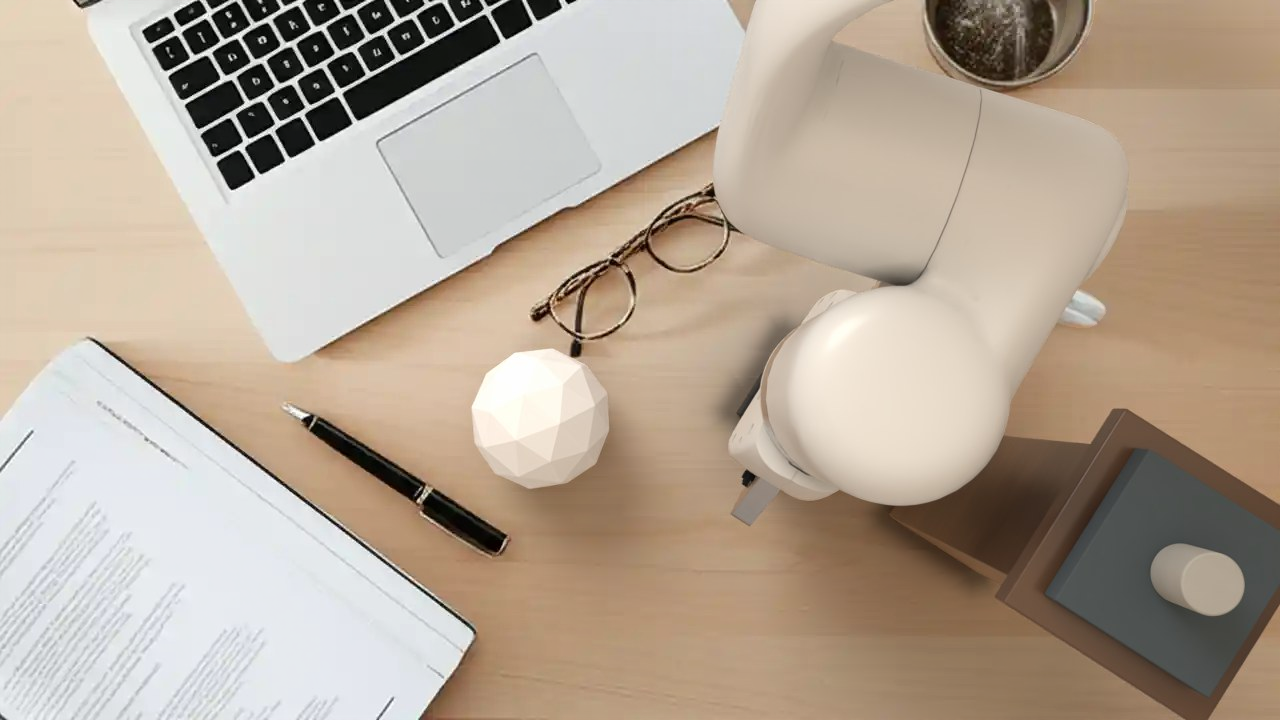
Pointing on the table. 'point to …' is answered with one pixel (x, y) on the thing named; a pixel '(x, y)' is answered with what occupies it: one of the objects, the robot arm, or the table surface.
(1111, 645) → the stand
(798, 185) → the robot arm
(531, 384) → the geometric ball
